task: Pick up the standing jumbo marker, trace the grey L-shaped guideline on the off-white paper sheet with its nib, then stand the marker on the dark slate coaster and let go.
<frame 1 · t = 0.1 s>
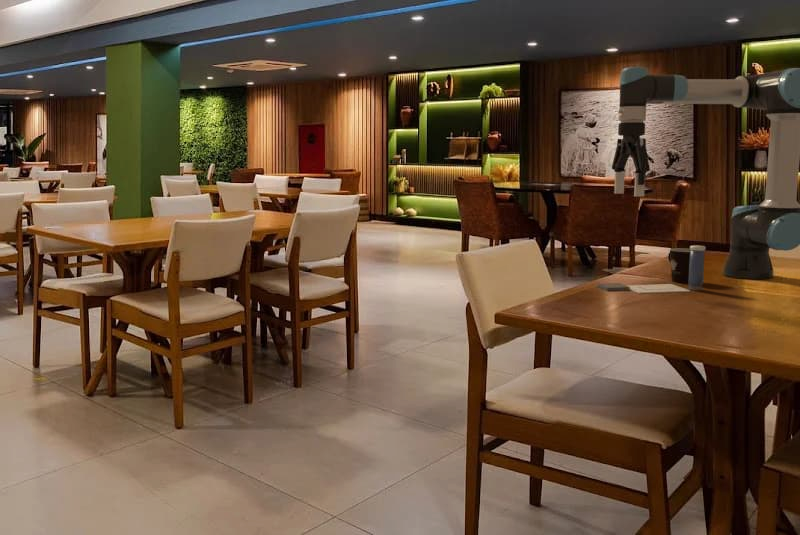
hand: (628, 195, 224), 28 cm above the table, fingers open, 13 cm apart
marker: (695, 289, 225), on the table
paper: (655, 289, 226), on the table
coaster: (613, 288, 227), on the table
coffee mug: (681, 281, 240), on the table
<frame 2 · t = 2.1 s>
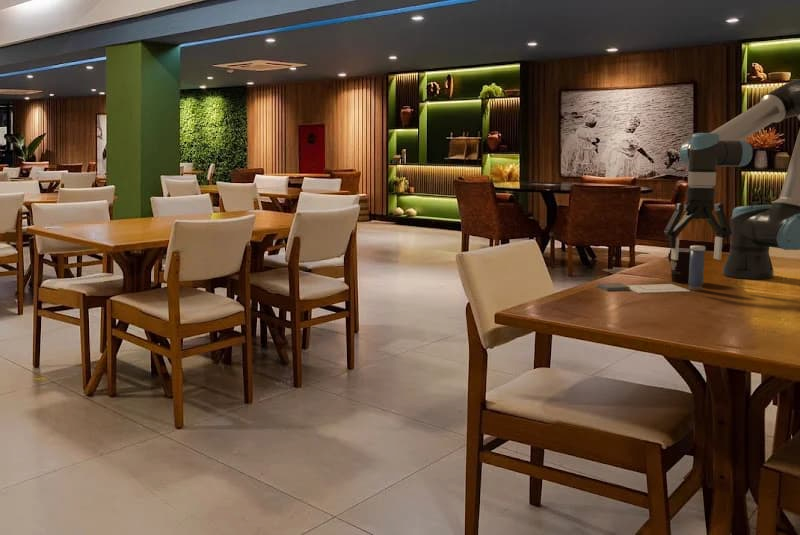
hand: (695, 259, 223), 9 cm above the table, fingers open, 13 cm apart
nothing on the table moved.
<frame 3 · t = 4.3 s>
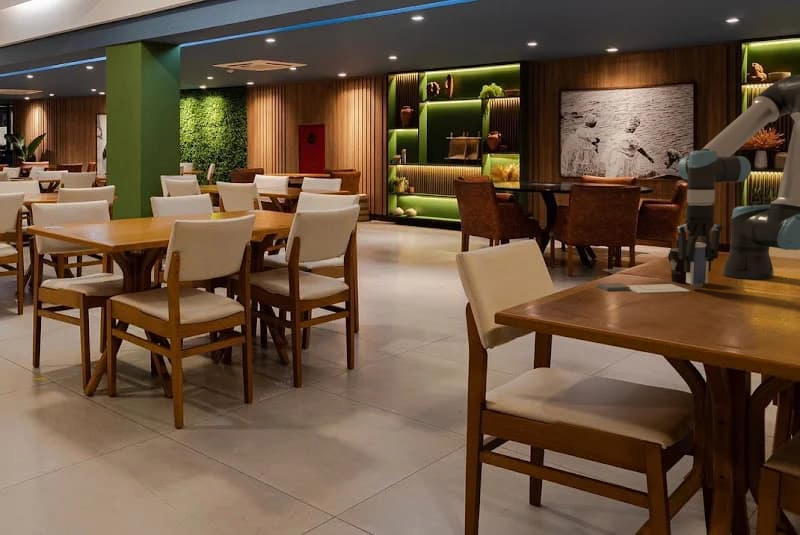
hand: (696, 282, 225), 2 cm above the table, fingers closed on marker, 4 cm apart
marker: (696, 286, 225), point 1 cm above the table, touching gripper
everything else where it was.
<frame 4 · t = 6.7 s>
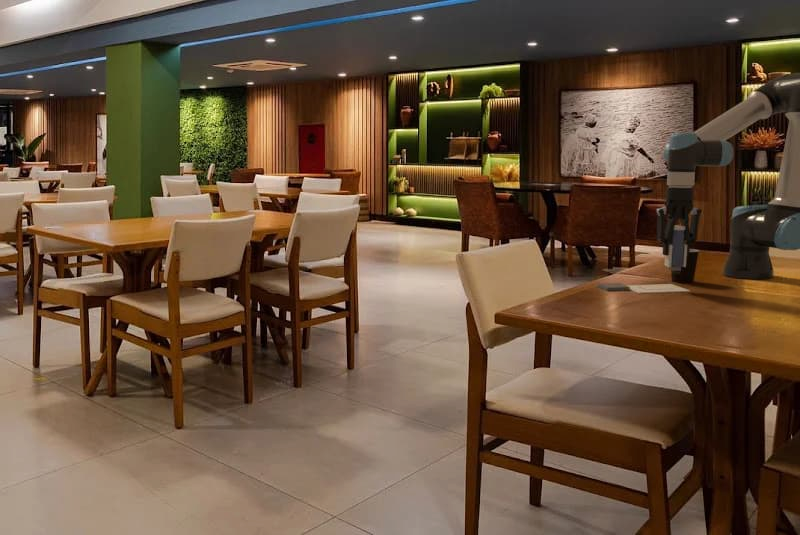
hand: (675, 266, 224), 7 cm above the table, fingers closed on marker, 4 cm apart
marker: (674, 269, 224), point 6 cm above the table, touching gripper
everything else where it was.
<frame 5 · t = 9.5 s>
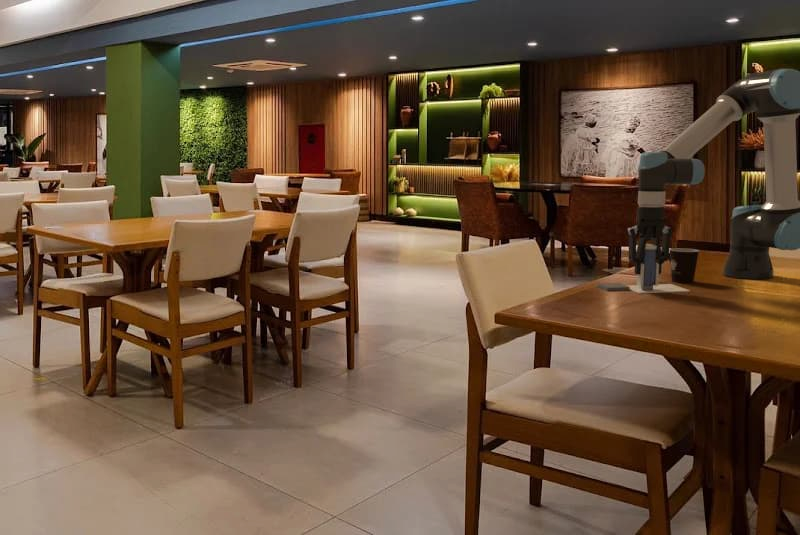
hand: (647, 285, 224), 2 cm above the table, fingers closed on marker, 4 cm apart
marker: (647, 288, 224), point 1 cm above the table, touching gripper
everything else where it was.
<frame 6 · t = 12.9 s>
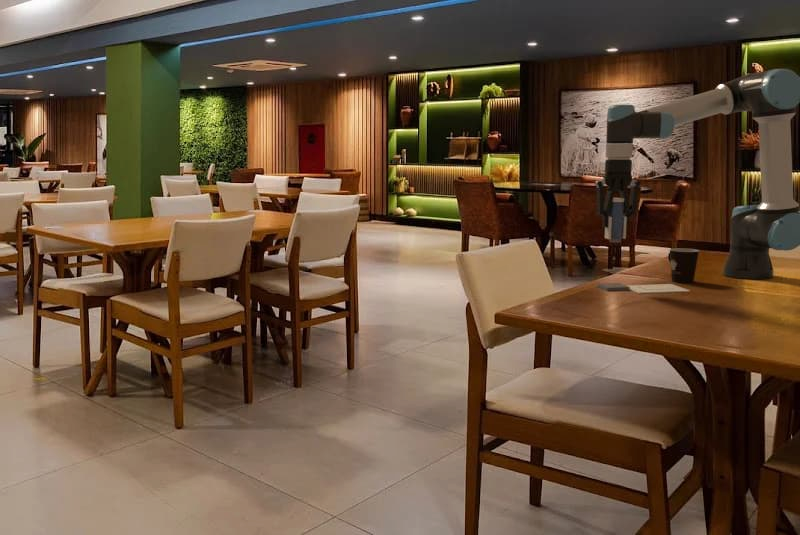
hand: (615, 238, 225), 15 cm above the table, fingers closed on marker, 4 cm apart
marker: (615, 242, 225), point 14 cm above the table, touching gripper
everything else where it was.
when the fingers open (3 cm above the table, at t = 15.1 s): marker stays where it is, resting on coaster.
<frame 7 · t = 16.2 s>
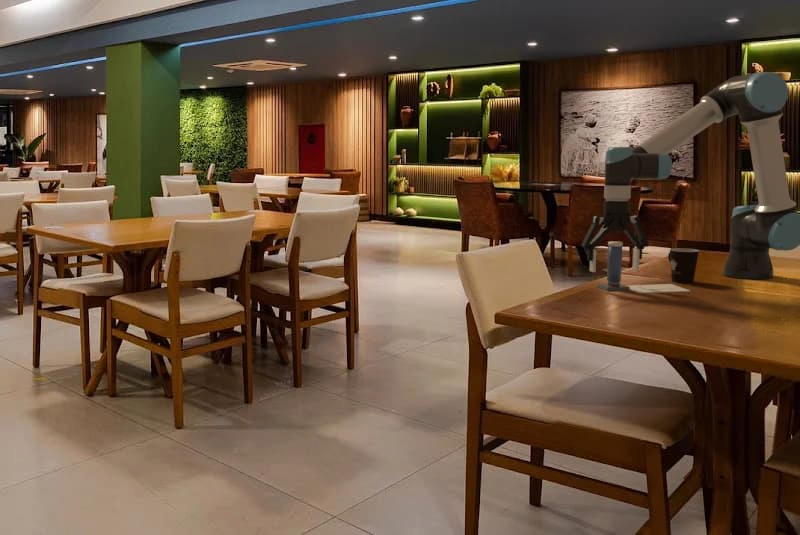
hand: (614, 271, 227), 5 cm above the table, fingers open, 13 cm apart
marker: (613, 285, 227), point 1 cm above the table, touching coaster
everything else where it was.
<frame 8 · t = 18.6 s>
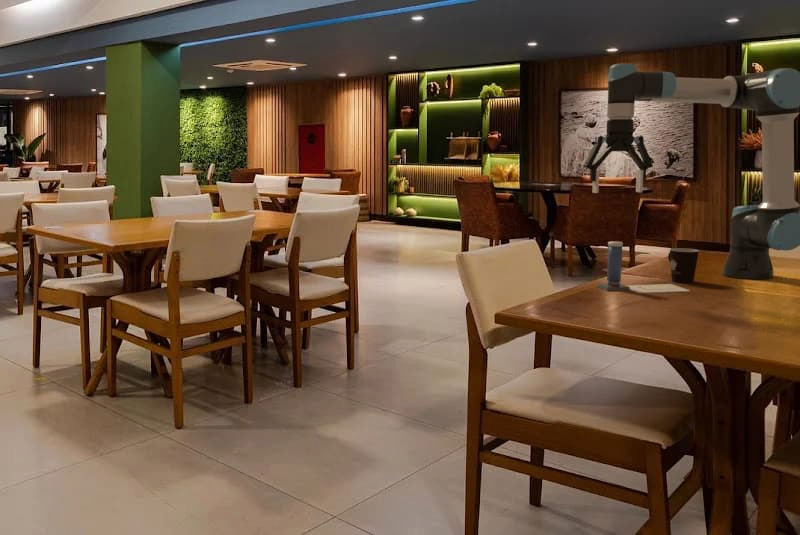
hand: (617, 192, 223), 29 cm above the table, fingers open, 13 cm apart
nothing on the table moved.
at the end: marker inside the target area on the coaster (0.1 cm from its centre), point 1.0 cm above the coaster's base; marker tilted 0°; the gripper is holding nothing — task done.
